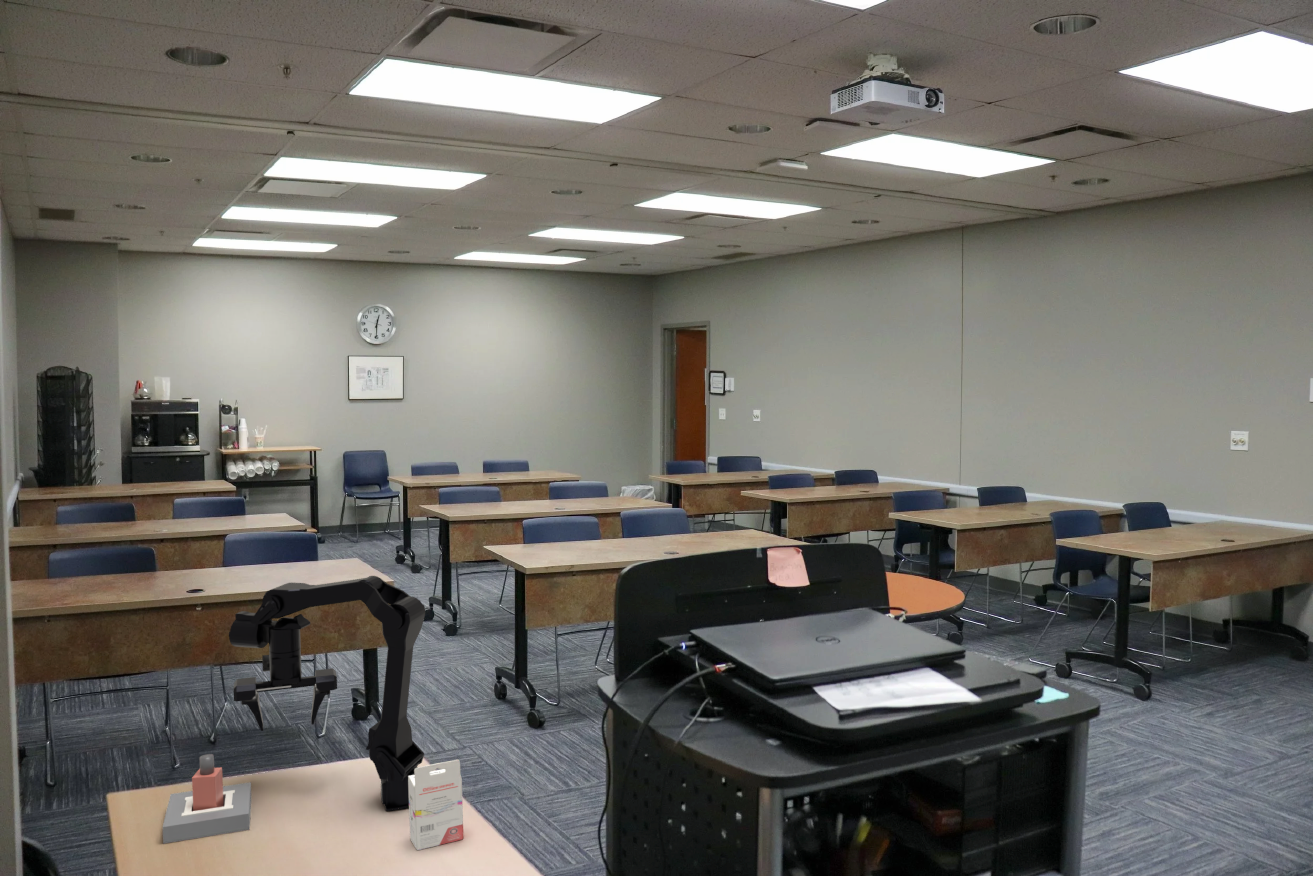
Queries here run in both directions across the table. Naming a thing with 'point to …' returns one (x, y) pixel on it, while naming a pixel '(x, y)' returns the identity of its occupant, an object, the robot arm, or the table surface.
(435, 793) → the ink cartridge box
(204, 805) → the plug
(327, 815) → the table surface
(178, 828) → the socket plate
